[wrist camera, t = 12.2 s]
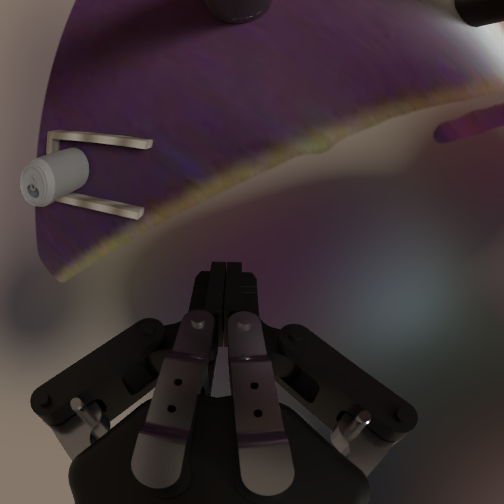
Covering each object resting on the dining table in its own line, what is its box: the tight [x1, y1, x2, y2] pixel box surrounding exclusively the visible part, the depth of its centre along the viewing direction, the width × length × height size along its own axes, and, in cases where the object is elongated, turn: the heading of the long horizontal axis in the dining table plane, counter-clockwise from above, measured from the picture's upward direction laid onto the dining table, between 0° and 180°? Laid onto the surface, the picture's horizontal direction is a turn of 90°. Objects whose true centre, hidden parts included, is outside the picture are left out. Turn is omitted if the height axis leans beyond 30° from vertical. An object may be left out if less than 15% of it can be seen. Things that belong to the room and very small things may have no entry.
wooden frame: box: [46, 130, 153, 220], centre depth 39 cm, size 20×12×2 cm, turn 76°
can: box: [20, 148, 89, 207], centre depth 35 cm, size 8×8×12 cm
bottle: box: [455, 0, 504, 27], centre depth 13 cm, size 7×7×20 cm
